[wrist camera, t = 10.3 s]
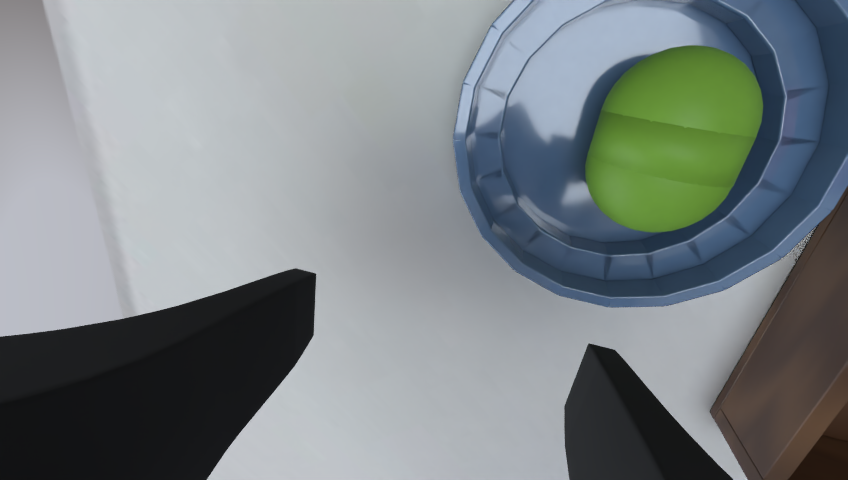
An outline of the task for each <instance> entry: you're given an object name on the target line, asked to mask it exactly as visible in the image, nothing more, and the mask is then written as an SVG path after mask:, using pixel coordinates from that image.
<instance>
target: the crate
mask: <svg viewBox="0 0 848 480" xmlns="http://www.w3.org/2000/svg"><path fill="white" fill-rule="evenodd" d="M710 413H711V415H712V417H713V418H714V419H715V422H716V423H717V425H718V427H719V429H720V431H721V432H722V434H723V436H724V438H725V440H726V441H727V443H728V445H729V447H730V449H731V450H732V452H733V454H734V456H735V458H736V459H737V461H738V463H739V465H740V466H741V468H742V470H743V472H744V474H745V475H746V477H747V479H748V480H848V186H847V188H846V189H845V191H844V193H843V194H842V196H841V198H840V199H839V201H838V203H837V204H836V206H835V208H834V209H833V210H831V213H830V214H829V215H828V216H826V217H825V218H824V219H823V220H822V221H821V222H820V224H819V226H818V227H817V229H816V231H815V232H814V234H813V236H812V238H811V239H810V241H809V243H808V244H807V246H806V248H805V250H804V251H803V253H802V255H801V256H800V258H799V260H798V261H797V263H796V265H795V267H794V268H793V270H792V272H791V273H790V275H789V277H788V279H787V280H786V282H785V284H784V285H783V287H782V289H781V291H780V292H779V294H778V296H777V297H776V299H775V301H774V303H773V304H772V306H771V308H770V309H769V311H768V313H767V315H766V316H765V318H764V320H763V321H762V323H761V325H760V327H759V328H758V330H757V332H756V333H755V335H754V337H753V339H752V340H751V342H750V344H749V345H748V347H747V349H746V350H745V352H744V354H743V356H742V357H741V359H740V361H739V362H738V364H737V366H736V368H735V369H734V371H733V373H732V374H731V376H730V378H729V380H728V381H727V383H726V385H725V386H724V388H723V390H722V392H721V393H720V395H719V397H718V398H717V400H716V402H715V404H714V405H713V407H712V409H711V410H710Z"/></svg>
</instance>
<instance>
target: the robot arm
mask: <svg viewBox="0 0 848 480" xmlns="http://www.w3.org/2000/svg"><path fill="white" fill-rule="evenodd" d="M315 287H316V274H315V273H311V272H307V271H303V270H300V269H292V270H288V271H284V272H281V273H278V274H275V275H272V276H269V277H266V278H263V279H260V280H257V281H254V282H251V283H248V284H245V285H242V286H239V287H236V288H233V289H231V290H228V291H225V292H222V293H218V294H215V295H212V296H208V297H205V298H202V299H199V300H195V301H192V302H189V303H185V304H182V305H179V306H175V307H171V308H167V309H164V310H160V311H156V312H151V313H147V314H142V315H138V316H134V317H129V318H124V319H120V320H115V321H108V322H103V323H97V324H91V325H85V326H79V327H74V328H68V329H61V330H54V331H47V332H39V333H31V334H22V335H13V336H3V337H0V480H207V478H208V477H209V475H210V474H211V472H212V471H213V469H214V468H215V466H216V465H217V463H218V462H219V460H220V459H221V457H222V456H223V454H224V453H225V452H226V450H227V449H228V447H229V446H230V445H231V444H232V442H233V441H234V440H235V438H236V437H237V436H238V434H239V433H240V432H241V431H242V429H243V428H244V427H245V426H246V425H247V423H248V422H249V421H250V420H251V419H252V417H253V416H254V415H255V414H256V412H257V411H258V410H259V409H260V408H261V406H262V405H263V404H264V403H265V402H266V400H267V399H268V398H269V397H270V396H271V394H272V393H273V392H274V391H275V390H276V388H277V387H278V386H279V385H280V383H281V382H282V381H283V380H284V378H285V377H286V376H287V375H288V374H289V372H290V371H291V370H292V368H293V367H294V366H295V364H296V363H297V361H298V360H299V358H300V357H301V355H302V354H303V352H304V350H305V349H306V347H307V345H308V344H309V342H310V340H311V339H312V337H313V335H314V311H315ZM565 449H566V457H567V464H568V471H569V479H570V480H733V479H732V478H731V477H730V476H729V475H728V474H727V473H726V472H725V471H724V470H723V469H722V468H721V467H720V466H719V465H718V464H717V463H716V462H715V461H714V460H713V459H712V458H711V457H710V456H709V455H708V454H707V453H706V452H705V451H704V450H703V449H702V448H701V447H700V445H699V444H698V443H697V442H696V441H695V440H694V439H693V438H692V437H691V436H690V435H689V434H688V433H687V432H686V431H685V430H684V428H683V427H682V426H681V425H680V424H679V423H678V422H677V421H676V420H675V419H674V417H673V416H672V415H671V414H670V413H669V412H668V411H667V410H666V408H665V407H664V406H663V405H662V404H661V403H660V402H659V400H658V399H657V398H656V397H655V396H654V395H653V393H652V392H651V391H650V390H649V389H648V388H647V386H646V385H645V384H644V383H643V382H642V380H641V379H640V378H639V377H638V376H637V375H636V373H635V372H634V371H633V370H632V369H631V368H630V366H629V365H628V364H627V363H626V362H625V361H624V359H623V358H622V357H621V356H620V355H619V354H618V353H617V352H616V351H615V350H613V349H609V348H605V347H601V346H597V345H593V344H588V346H587V349H586V352H585V354H584V357H583V359H582V362H581V365H580V367H579V370H578V372H577V375H576V378H575V380H574V383H573V385H572V388H571V391H570V393H569V396H568V398H567V401H566V404H565Z"/></svg>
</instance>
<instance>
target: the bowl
mask: <svg viewBox="0 0 848 480" xmlns="http://www.w3.org/2000/svg"><path fill="white" fill-rule="evenodd" d="M687 45H697V46H707V47H714V48H717V49H720V50H722V51H725V52H727V53H730V54H732V55H734V56H735V57H736V58H738V59H739V60H740V61H742V62H743V63H745V64H746V66H747V67H748V68H749V69H750V71H751V72H752V73H753V74H754V75H755V77H756V80H757V82H758V84H759V87H760V89H761V93H762V100H763V113H762V122H761V125H760V128H759V130H758V133H757V136H756V139H755V141H754V143H753V146H752V148H751V150H750V152H749V154H748V156H747V158H746V160H745V163H744V165H743V167H742V169H741V171H740V173H739V175H738V177H737V179H736V182H735V184H734V186H733V187H732V189H731V190H730V192H729V193H728V195H727V197H726V198H725V200H724V201H723V202H722V203H721V204H720V205H719V206H718V207H717V208H716V209H715V210H714V211H713V212H712V213H710V214H709V215H708V216H706V217H705V218H703V219H702V220H700V221H698V222H696V223H694V224H692V225H690V226H687V227H685V228H681V229H677V230H673V231H668V232H655V233H653V232H644V231H638V230H633V229H630V228H627V227H625V226H622V225H620V224H618V223H616V222H614V221H613V220H611V219H610V218H609V217H608V216H606V215H605V214H604V213H603V212H602V211H601V210H600V209H599V208H598V206H597V205H596V204H595V202H594V201H593V199H592V197H591V195H590V193H589V190H588V186H587V182H586V178H585V164H586V159H587V154H588V151H589V148H590V144H591V141H592V138H593V135H594V131H595V128H596V125H597V122H598V119H599V115H600V112H601V109H602V106H603V104H604V102H605V99H606V97H607V95H608V93H609V92H610V90H611V89H612V87H613V86H614V84H615V83H616V82H617V81H618V80H619V79H620V78H621V76H622V75H623V74H624V73H625V72H626V71H628V70H629V69H630V68H631V67H633V66H634V65H635V64H637V63H638V62H639V61H641V60H643V59H645V58H647V57H649V56H650V55H652V54H655V53H658V52H660V51H663V50H666V49H669V48H674V47H680V46H687ZM453 139H454V140H453V145H454V152H455V160H456V167H457V175H458V182H459V189H460V193H461V195H462V197H463V199H464V201H465V203H466V205H467V208H468V210H469V212H470V214H471V216H472V218H473V220H474V222H475V224H476V226H477V228H478V230H479V233H480V235H482V237H483V238H484V239H485V240H486V241H487V242H488V244H489V245H490V246H491V247H492V248H493V249H494V250H495V251H496V252H497V253H498V254H499V255H500V256H501V257H502V258H503V259H504V260H505V261H506V262H507V263H508V265H509V266H510V267H511V268H512V269H513V270H515V271H516V272H517V273H519V274H521V275H523V276H525V277H526V278H528V279H530V280H532V281H533V282H535V283H537V284H539V285H541V286H542V287H544V288H546V289H548V290H549V291H551V292H553V293H555V294H557V295H559V296H563V297H567V298H571V299H576V300H580V301H584V302H588V303H592V304H596V305H601V306H605V307H656V306H668V305H672V304H676V303H679V302H683V301H687V300H691V299H694V298H698V297H702V296H705V295H709V294H713V293H716V292H720V291H723V290H726V289H728V288H730V287H731V286H733V285H735V284H737V283H739V282H740V281H742V280H744V279H746V278H748V277H749V276H751V275H753V274H755V273H757V272H759V271H760V270H762V269H764V268H766V267H768V266H769V265H771V264H773V263H775V262H777V261H778V260H780V259H781V258H783V257H784V256H785V255H786V254H787V253H788V252H789V251H791V250H792V249H793V248H794V247H795V246H796V245H797V244H798V243H799V242H800V241H801V240H802V239H803V238H804V237H805V236H806V235H807V234H808V233H810V232H811V231H812V230H813V229H814V228H815V227H816V226H817V225H818V224H819V223H820V222H821V221H822V220H823V219H824V218H825V217H826V216H828V215H829V214H830V213H831V210H833V209H834V208H835V206H836V204H837V203H838V201H839V199H840V198H841V196H842V194H843V193H844V191H845V189H846V188H847V186H848V0H513V1H512V2H511V3H510V4H509V6H508V7H507V8H506V9H505V10H504V11H503V12H502V13H501V14H500V15H499V17H498V18H497V19H496V20H495V21H494V22H493V23H492V25H491V26H490V28H489V30H488V32H487V34H486V36H485V38H484V40H483V42H482V44H481V46H480V48H479V50H478V52H477V54H476V56H475V58H474V60H473V62H472V64H471V66H470V68H469V70H468V72H467V74H466V76H465V79H464V81H463V84H462V89H461V94H460V100H459V106H458V112H457V118H456V123H455V129H454V135H453Z"/></svg>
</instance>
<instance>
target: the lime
mask: <svg viewBox="0 0 848 480" xmlns="http://www.w3.org/2000/svg"><path fill="white" fill-rule="evenodd" d="M762 113H763V100H762V93H761V89H760V87H759V84H758V82H757V80H756V77H755V75H754V74H753V73H752V72H751V71H750V69H749V68H748V67H747V66H746V64H745V63H743V62H742V61H740V60H739V59H738V58H736V57H735V56H734V55H732V54H730V53H727V52H725V51H722V50H720V49H717V48H714V47H707V46H697V45H687V46H680V47H674V48H669V49H666V50H663V51H660V52H658V53H655V54H652V55H650V56H649V57H647V58H645V59H643V60H641V61H639V62H638V63H637V64H635V65H634V66H633V67H631V68H630V69H629V70H628V71H626V72H625V73H624V74H623V75H622V76H621V78H620V79H619V80H618V81H617V82H616V83H615V84H614V86H613V87H612V89H611V90H610V92H609V93H608V95H607V97H606V99H605V102H604V104H603V106H602V109H601V112H600V115H599V119H598V122H597V125H596V128H595V131H594V135H593V138H592V141H591V144H590V148H589V151H588V154H587V159H586V164H585V178H586V182H587V186H588V190H589V193H590V195H591V197H592V199H593V201H594V202H595V204H596V205H597V206H598V208H599V209H600V210H601V211H602V212H603V213H604V214H605V215H606V216H608V217H609V218H610V219H611V220H613V221H614V222H616V223H618V224H620V225H622V226H625V227H627V228H630V229H633V230H638V231H644V232H653V233H655V232H668V231H673V230H677V229H681V228H685V227H687V226H690V225H692V224H694V223H696V222H698V221H700V220H702V219H703V218H705V217H706V216H708V215H709V214H710V213H712V212H713V211H714V210H715V209H716V208H717V207H718V206H719V205H720V204H721V203H722V202H723V201H724V200H725V198H726V197H727V195H728V193H729V192H730V190H731V189H732V187H733V186H734V184H735V182H736V179H737V177H738V175H739V173H740V171H741V169H742V167H743V165H744V163H745V160H746V158H747V156H748V154H749V152H750V150H751V148H752V146H753V143H754V141H755V139H756V136H757V133H758V130H759V128H760V125H761V122H762Z"/></svg>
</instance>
